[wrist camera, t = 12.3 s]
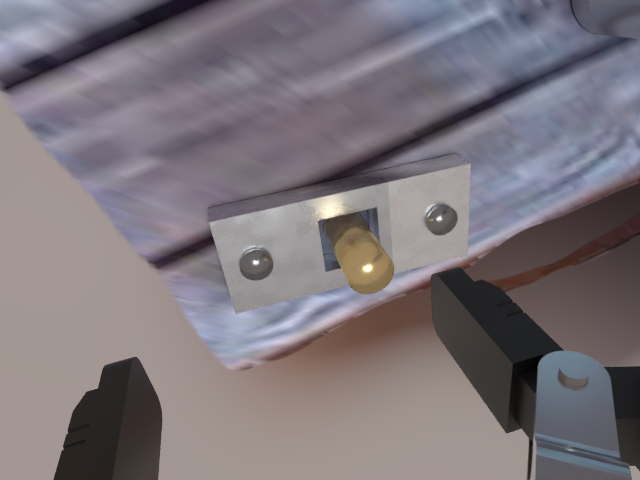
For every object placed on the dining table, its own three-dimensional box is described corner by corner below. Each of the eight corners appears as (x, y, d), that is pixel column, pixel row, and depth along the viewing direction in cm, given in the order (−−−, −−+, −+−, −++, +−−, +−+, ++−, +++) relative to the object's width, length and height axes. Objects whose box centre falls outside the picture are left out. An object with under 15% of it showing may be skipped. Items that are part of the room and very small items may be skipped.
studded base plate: (454, 153, 44) (474, 165, 41) (453, 241, 49) (470, 257, 46) (208, 207, 41) (209, 225, 38) (233, 295, 46) (236, 317, 43)
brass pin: (360, 203, 44) (393, 248, 37) (363, 238, 46) (395, 288, 39) (320, 211, 44) (345, 258, 36) (325, 246, 46) (350, 298, 38)
